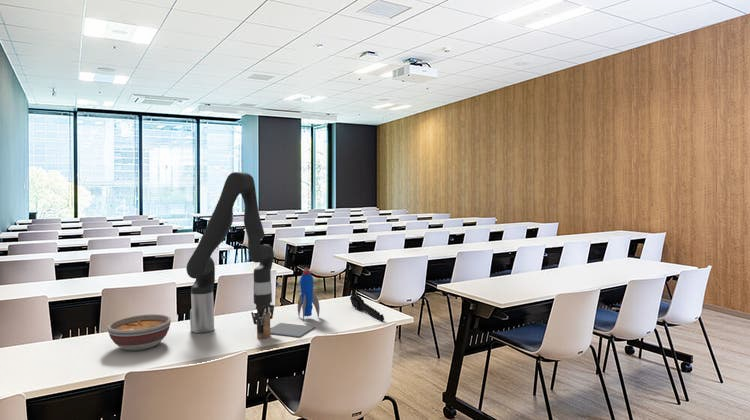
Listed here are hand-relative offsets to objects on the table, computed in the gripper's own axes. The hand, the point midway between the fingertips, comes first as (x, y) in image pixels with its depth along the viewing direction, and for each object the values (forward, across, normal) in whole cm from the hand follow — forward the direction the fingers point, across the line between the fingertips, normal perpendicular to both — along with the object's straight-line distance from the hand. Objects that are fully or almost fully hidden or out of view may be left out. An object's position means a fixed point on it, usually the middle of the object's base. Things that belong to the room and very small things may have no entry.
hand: (263, 331), depth 203 cm
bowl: (+3, +26, -41) cm, 49 cm away
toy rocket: (+3, -28, +5) cm, 29 cm away
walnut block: (+2, 0, 0) cm, 2 cm away
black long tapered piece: (+3, -48, +28) cm, 55 cm away
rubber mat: (+2, -11, +6) cm, 13 cm away
